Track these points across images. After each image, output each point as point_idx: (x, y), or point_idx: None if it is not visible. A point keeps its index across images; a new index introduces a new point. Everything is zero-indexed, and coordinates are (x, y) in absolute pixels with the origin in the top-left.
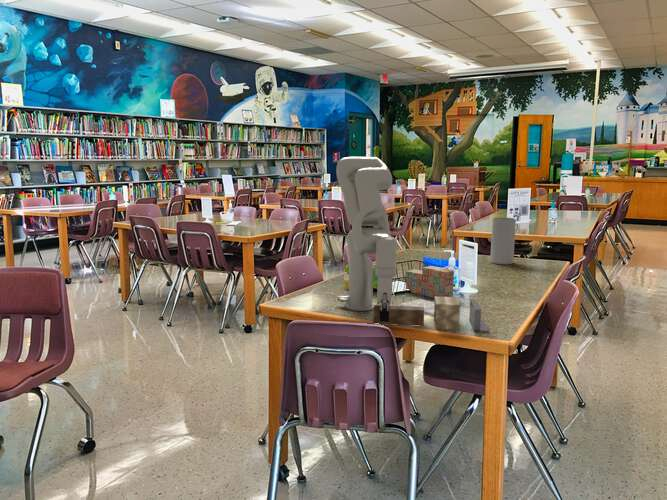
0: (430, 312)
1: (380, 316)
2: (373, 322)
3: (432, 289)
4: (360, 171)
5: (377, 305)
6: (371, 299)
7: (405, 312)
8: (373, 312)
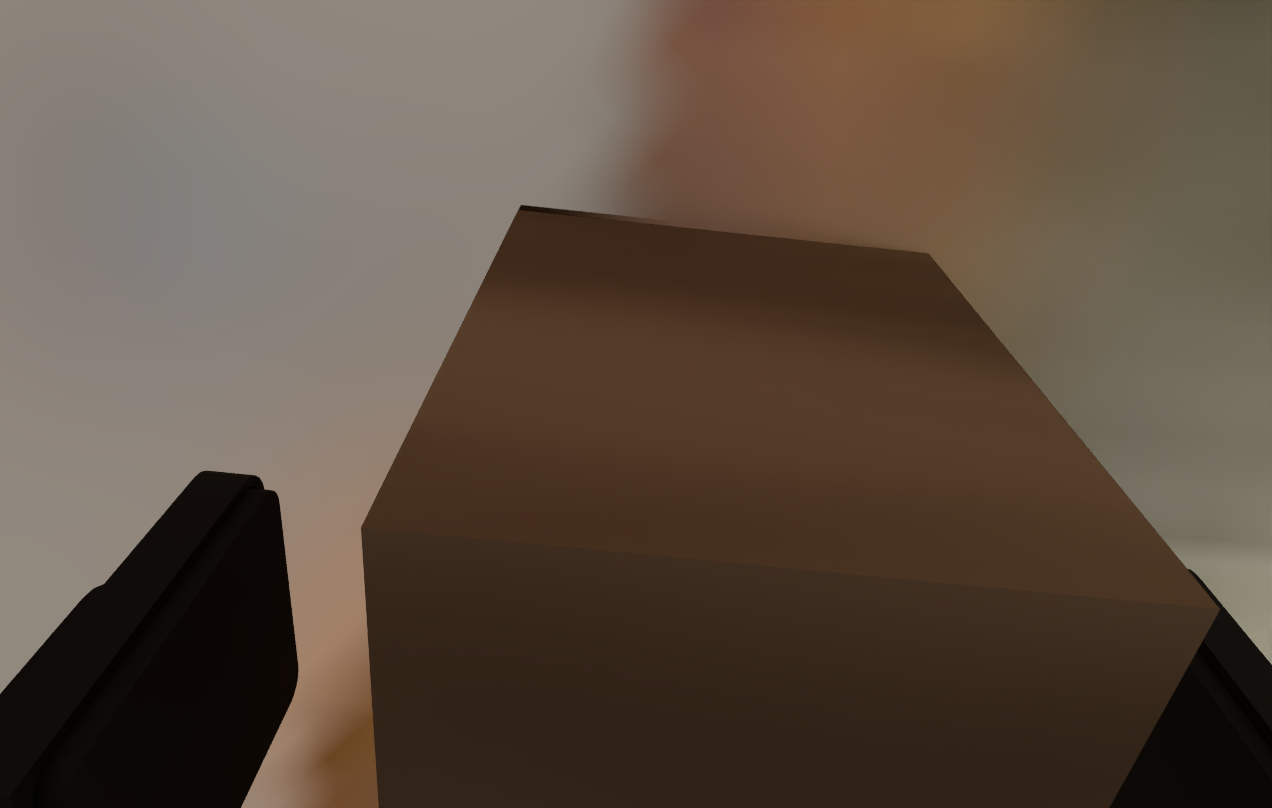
0: None
1: (117, 593)
2: (512, 234)
3: None
4: None
5: (1095, 762)
6: None
7: None
8: (431, 394)
